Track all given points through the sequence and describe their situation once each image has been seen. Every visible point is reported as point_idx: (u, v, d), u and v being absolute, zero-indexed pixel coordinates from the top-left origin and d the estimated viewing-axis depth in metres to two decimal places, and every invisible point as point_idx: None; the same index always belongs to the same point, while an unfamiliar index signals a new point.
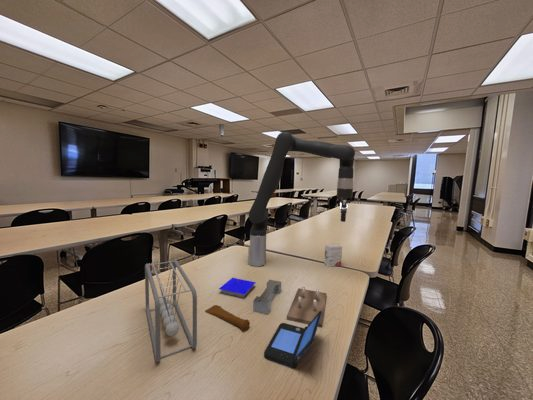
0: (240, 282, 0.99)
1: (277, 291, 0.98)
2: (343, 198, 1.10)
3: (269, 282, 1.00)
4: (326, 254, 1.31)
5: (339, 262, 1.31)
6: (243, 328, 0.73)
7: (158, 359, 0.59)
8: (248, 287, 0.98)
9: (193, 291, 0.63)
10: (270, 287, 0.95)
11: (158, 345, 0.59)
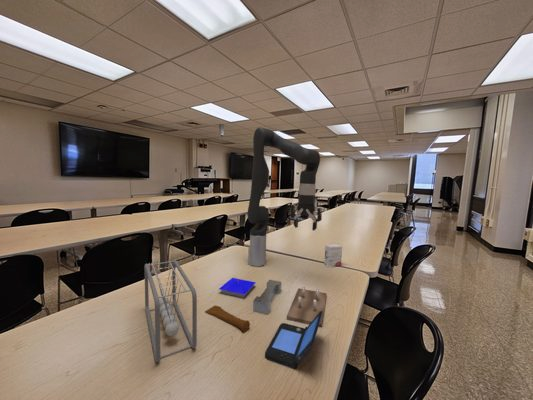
0: (240, 282, 0.99)
1: (277, 291, 0.98)
2: (313, 205, 1.02)
3: (269, 282, 1.00)
4: (326, 254, 1.31)
5: (339, 262, 1.31)
6: (243, 329, 0.72)
7: (158, 359, 0.59)
8: (248, 287, 0.98)
9: (193, 291, 0.63)
10: (270, 287, 0.95)
11: (158, 345, 0.59)
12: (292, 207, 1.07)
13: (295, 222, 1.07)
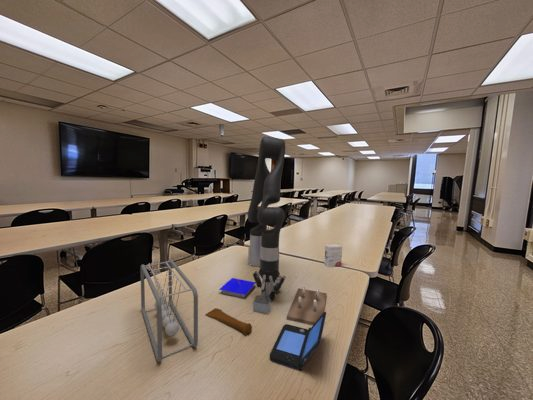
0: (240, 282, 0.99)
1: None
2: (277, 271, 0.90)
3: None
4: (326, 254, 1.31)
5: (339, 262, 1.31)
6: (245, 332, 0.71)
7: (160, 359, 0.59)
8: (248, 287, 0.98)
9: (194, 290, 0.64)
10: (270, 286, 0.95)
11: (160, 345, 0.59)
12: (254, 275, 0.93)
13: None
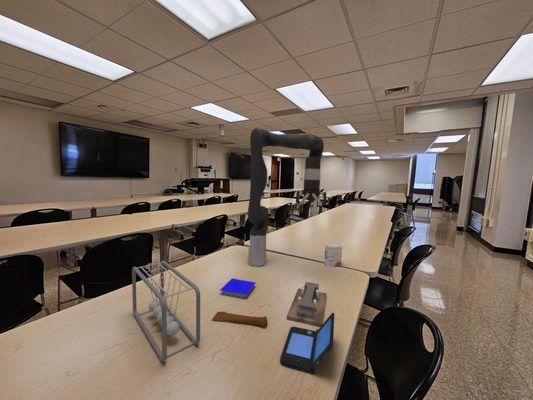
0: (241, 283, 0.99)
1: None
2: (319, 190, 1.07)
3: (307, 284, 0.96)
4: (326, 254, 1.31)
5: (339, 262, 1.31)
6: (265, 325, 0.75)
7: (165, 359, 0.59)
8: (249, 287, 0.98)
9: (196, 288, 0.65)
10: (309, 289, 0.91)
11: (165, 344, 0.59)
12: (297, 192, 1.09)
13: (301, 207, 1.10)
